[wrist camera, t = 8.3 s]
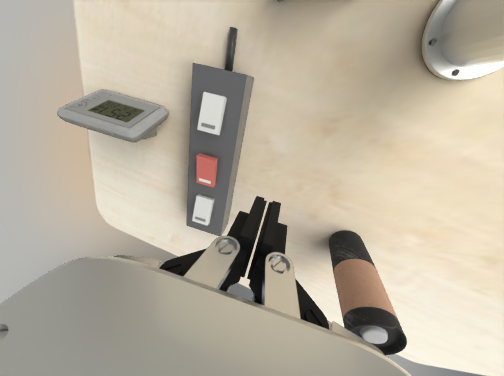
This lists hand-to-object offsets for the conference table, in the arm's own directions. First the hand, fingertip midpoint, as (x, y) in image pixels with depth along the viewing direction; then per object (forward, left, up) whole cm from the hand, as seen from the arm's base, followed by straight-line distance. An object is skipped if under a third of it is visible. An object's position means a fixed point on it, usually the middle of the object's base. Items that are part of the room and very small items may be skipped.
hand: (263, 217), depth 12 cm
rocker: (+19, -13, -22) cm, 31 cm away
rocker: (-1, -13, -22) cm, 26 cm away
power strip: (+6, -13, -27) cm, 31 cm away
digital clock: (+3, -33, -27) cm, 43 cm away
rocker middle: (+9, -13, -22) cm, 27 cm away
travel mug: (+20, +20, -27) cm, 39 cm away
